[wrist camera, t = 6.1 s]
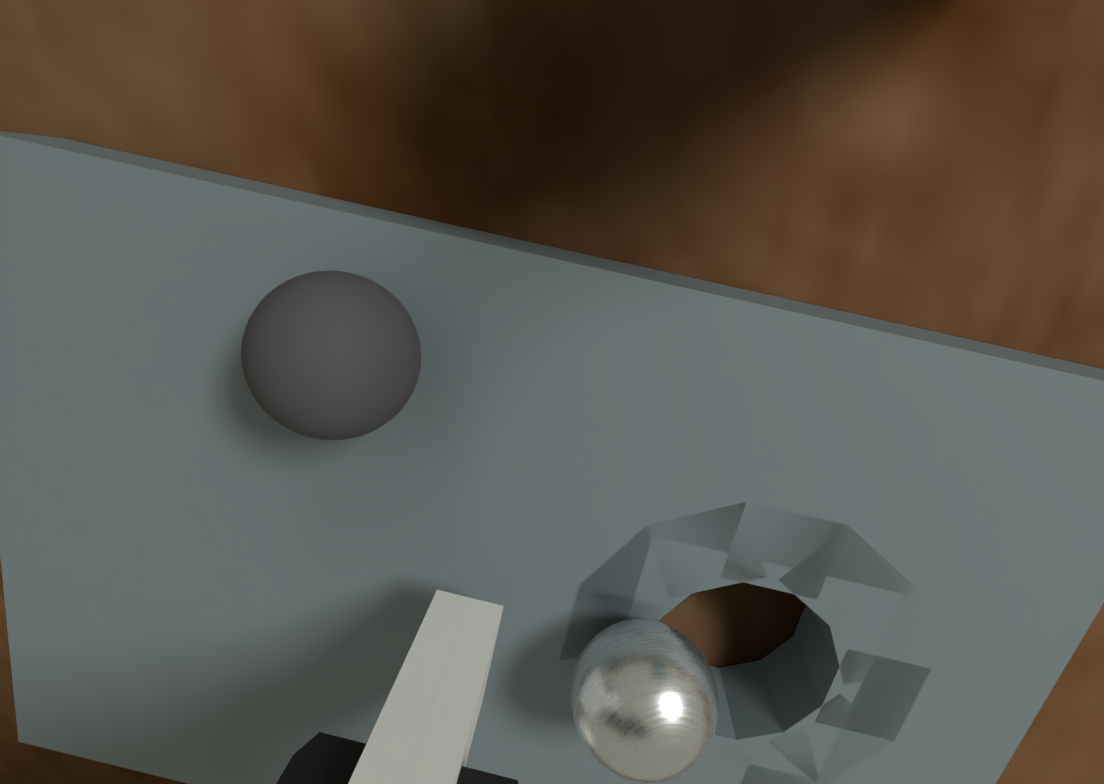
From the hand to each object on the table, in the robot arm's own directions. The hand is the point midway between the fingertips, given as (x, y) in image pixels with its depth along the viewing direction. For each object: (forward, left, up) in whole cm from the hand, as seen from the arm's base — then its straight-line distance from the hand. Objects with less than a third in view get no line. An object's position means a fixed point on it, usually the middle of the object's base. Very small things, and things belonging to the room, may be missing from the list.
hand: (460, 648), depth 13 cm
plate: (+1, 0, -4) cm, 4 cm away
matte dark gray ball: (-3, +6, 0) cm, 7 cm away
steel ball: (+4, 0, 0) cm, 4 cm away
